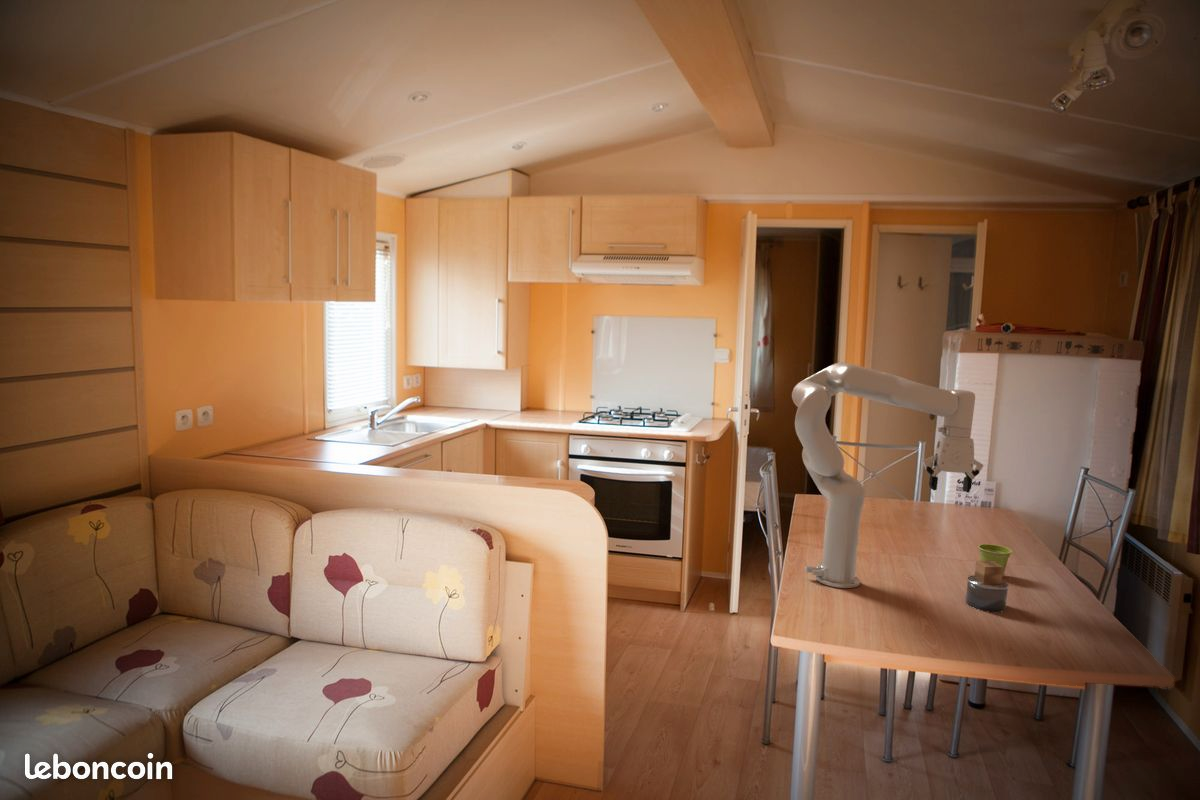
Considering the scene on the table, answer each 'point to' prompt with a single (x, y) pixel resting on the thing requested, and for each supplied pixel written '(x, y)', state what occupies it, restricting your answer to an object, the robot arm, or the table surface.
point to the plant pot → (995, 554)
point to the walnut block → (988, 572)
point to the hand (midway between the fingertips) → (949, 490)
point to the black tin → (986, 595)
